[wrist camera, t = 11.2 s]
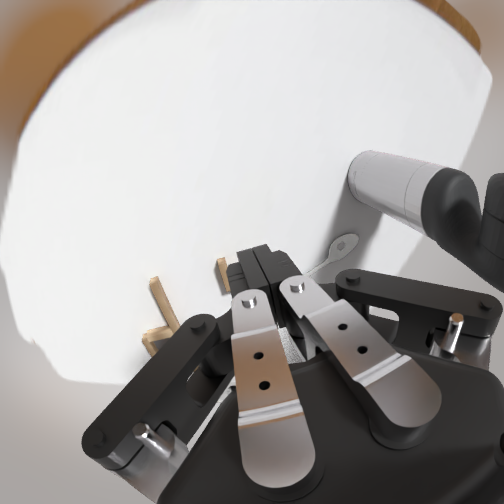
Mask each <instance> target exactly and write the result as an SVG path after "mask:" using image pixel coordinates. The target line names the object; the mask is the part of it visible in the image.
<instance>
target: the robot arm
mask: <svg viewBox="0 0 504 504" xmlns="http://www.w3.org/2000/svg"><path fill="white" fill-rule="evenodd" d="M348 183H349V188H350V190H351V193H352V194H353V196H354V197H355V198H356V199H357V200H359V201H361V202H363V203H365V204H367V205H369V206H371V207H373V208H375V209H377V210H379V211H381V212H383V213H385V214H387V215H388V216H390V217H392V218H394V219H396V220H398V221H400V222H402V223H404V224H406V225H407V226H409V227H411V228H413V229H415V230H417V231H419V232H420V233H422V234H424V235H426V236H428V237H430V238H431V239H433V240H434V241H436V242H437V244H438V245H439V246H440V247H441V248H442V249H444V250H445V251H446V252H448V253H450V254H451V255H452V256H454V257H455V258H457V259H458V260H460V261H461V262H462V263H463V264H465V265H466V266H467V267H469V268H470V269H471V270H472V271H474V272H475V273H476V274H478V275H479V276H480V277H481V278H483V279H484V280H485V281H487V282H488V283H489V284H490V285H492V286H493V287H495V288H496V289H498V290H499V291H501V292H503V293H504V173H498V174H494V175H493V176H492V177H491V178H490V179H489V181H488V185H487V190H486V196H485V203H484V209H483V215H481V210H480V204H479V198H478V192H477V189H476V186H475V184H474V182H473V180H472V179H471V178H470V177H469V176H468V175H467V174H466V173H464V172H462V171H459V170H456V169H452V168H449V167H445V166H441V165H437V164H433V163H429V162H425V161H420V160H416V159H412V158H407V157H402V156H397V155H392V154H388V153H382V152H377V151H365V152H363V153H361V154H359V155H358V156H357V157H356V158H355V159H354V160H353V162H352V164H351V166H350V169H349V174H348ZM237 257H238V260H239V262H237V263H233V264H230V265H228V268H227V270H226V274H227V278H228V282H229V287H230V291H231V295H232V301H231V309H230V310H229V311H228V312H227V313H225V314H224V315H222V316H221V317H219V318H217V319H215V317H213V316H212V315H209V314H199V315H195V316H193V317H191V318H189V319H188V320H186V321H185V322H184V323H183V324H182V325H181V326H180V328H179V329H178V330H177V331H176V332H175V333H174V334H173V335H172V336H171V337H170V338H169V340H168V341H167V342H166V343H165V344H164V345H163V346H162V347H161V348H160V349H159V350H158V352H157V353H156V354H155V355H154V356H153V357H152V358H151V359H150V360H149V361H148V362H147V364H146V365H145V366H144V367H143V368H142V369H141V370H140V371H139V372H138V373H137V374H136V376H135V377H134V378H133V379H132V380H131V381H130V382H129V383H128V384H127V385H126V386H125V388H124V389H123V390H122V391H121V392H120V393H119V394H118V395H117V396H116V397H115V399H114V400H113V401H112V402H111V403H110V404H109V405H108V406H107V407H106V409H104V411H103V412H102V413H101V414H100V415H99V416H98V417H97V418H96V419H95V421H94V422H93V423H92V424H91V425H90V426H89V427H88V428H87V429H86V431H85V432H84V434H83V437H82V448H83V451H84V452H85V454H86V455H88V456H89V457H90V458H92V459H93V460H95V461H96V462H98V463H99V464H101V465H102V466H103V467H104V468H105V469H107V470H109V471H110V472H112V473H114V474H115V475H117V476H118V477H120V478H122V479H124V480H125V481H127V482H128V483H129V484H130V485H131V486H133V487H134V488H135V489H137V490H138V491H139V492H140V493H142V494H143V495H145V496H146V497H147V498H149V499H150V500H151V501H153V502H154V503H156V504H504V388H503V385H502V384H501V382H500V381H499V379H498V378H497V377H496V376H495V375H494V374H492V373H491V372H489V363H490V352H491V338H492V336H493V334H494V331H495V329H496V327H497V325H498V322H499V319H500V317H501V314H502V311H503V308H502V305H501V303H500V301H499V300H498V299H497V298H495V297H494V296H491V295H489V294H484V293H479V292H474V291H469V290H464V289H458V288H453V287H448V286H443V285H437V284H432V283H427V282H422V281H417V280H412V279H407V278H402V277H396V276H391V275H386V274H381V273H376V272H370V271H365V270H360V269H348V270H345V271H342V272H340V273H339V274H338V275H337V276H336V283H329V284H317V283H316V282H315V281H314V280H313V279H312V278H310V277H308V276H303V275H302V274H301V272H300V271H299V269H298V268H297V267H296V265H295V264H294V263H293V261H292V260H291V259H290V257H289V256H288V255H287V253H284V252H282V251H280V250H278V251H275V252H271V250H270V249H269V247H268V246H267V244H264V245H260V246H257V247H253V248H252V249H251V248H250V249H246V250H243V251H239V252H237ZM369 305H370V306H374V307H378V308H382V309H387V310H391V311H394V312H395V313H397V315H398V316H399V321H394V320H390V319H386V318H382V317H378V316H374V315H370V314H369ZM277 323H278V325H279V328H283V327H286V328H287V330H288V335H289V340H290V342H291V343H292V345H293V347H294V348H295V350H296V352H297V353H298V355H299V357H300V358H301V360H302V362H301V363H293V364H288V362H287V358H286V355H285V352H284V349H283V345H282V342H281V339H280V335H279V332H278V325H277ZM197 366H199V367H198V368H197ZM196 368H197V370H196V371H195V372H194V374H193V375H192V376H191V377H190V379H189V380H188V378H189V376H190V375H191V374H192V373H193V371H194V370H195V369H196ZM234 376H235V381H236V389H235V390H234V391H232V392H231V393H230V394H229V395H228V396H227V397H226V398H225V399H224V400H223V401H222V403H221V404H220V406H219V407H218V409H217V410H216V412H215V414H214V415H213V417H212V419H211V420H210V421H209V423H208V425H207V426H206V428H205V430H204V431H203V432H202V434H201V435H200V437H199V438H198V440H197V441H196V443H195V445H194V446H193V448H192V449H191V451H190V452H189V451H188V448H187V446H186V445H187V444H188V442H189V441H190V439H191V438H192V437H193V435H194V434H195V433H196V431H197V430H198V428H199V427H200V426H201V424H202V423H203V421H204V420H205V419H206V417H207V416H208V414H209V413H210V411H211V410H212V408H213V407H214V406H215V404H216V403H217V401H218V400H219V398H220V397H221V395H222V394H223V392H224V391H225V389H226V388H227V386H228V385H229V383H230V382H231V380H232V379H233V377H234ZM187 380H188V381H187Z"/></svg>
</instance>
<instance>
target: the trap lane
mask: <svg viewBox="0 0 504 504" xmlns="http://www.w3.org/2000/svg"><path fill="white" fill-rule="evenodd" d="M217 261H218V266H219V269H220V272H221V276H222V279H223V282H224V285H225V288H226V291H227V292H229V291H230V287H229V282H228V278H227V274H226V270H227V268H228V267H227V264H226V261H225V257H224V258H220V259H217ZM149 285H150V287H151V289H152V292H153V294H154V296H155V298H156V300H157V302H158V304H159V306H160V308H161V311H162V313H163V315H164V317H165V319H166V321H167V323H168V325H167V326H163V327H159V328H155V329H151V330H148V331H147V333H146V334H143V338H142V342H143V344H144V345H145V347H146V348H147V350H148V352H149V353H150V355H151V356H152V357H153V356H154V355H155V354H156V353H157V352H158V350H159V349H160V348H161V347H162V346H163V345H164V344H165V343H166V342H167V341H168V340H169V338H170V337H171V336H172V335H173V334H174V333H175V332H176V331H177V330H178V329H179V328H180V324H179V322H178V320H177V318H176V316H175V314H174V312H173V310H172V308H171V305H170V303H169V301H168V299H167V297H166V294H165V292H164V290H163V288H162V285H161V283H160V281H159V278H158V276H157V277H154V278H151V280H150V284H149ZM198 367H199V366H197V368H198ZM197 368H196V369H195V370H194V372H195V371H196V370H197Z"/></svg>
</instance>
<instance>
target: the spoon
mask: <svg viewBox="0 0 504 504" xmlns="http://www.w3.org/2000/svg"><path fill="white" fill-rule="evenodd" d="M358 241H359V236H358V235H356V234H346V235H343V236H340V237H339V238H337V239H335V240H334V242H333V243H332V244H331V246H330V249H329V256H328V258H327V260H325V261H324V262H323V263H321V264H320V265H318V266H317V267H315V268H314V269H312V270H311V271H309V272H307V273H306V274H304V275H303V276H308V277H309V276H311V275H312V274H314V273H315V272H316V271H318V270H319V269H321V268H322V267H324V266H326V265H327V264H329V263H331V262H333V261H338V260H340V259H342V258H344V257H345V256H346V255H347V254H348V253H350V252H351V251H352V250H353V249H354V248H355V246H356V245H357V244H358ZM341 242H343V243H345V247H344V248H343V249H342V250H339V249H338V247H337V246H338V244H340V243H341Z"/></svg>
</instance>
